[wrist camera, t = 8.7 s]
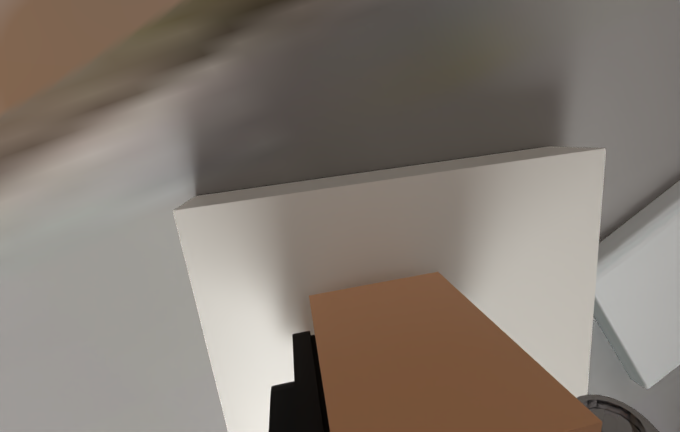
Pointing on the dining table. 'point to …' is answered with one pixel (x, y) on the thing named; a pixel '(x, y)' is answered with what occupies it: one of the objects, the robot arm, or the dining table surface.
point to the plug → (431, 365)
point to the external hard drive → (643, 290)
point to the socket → (397, 258)
